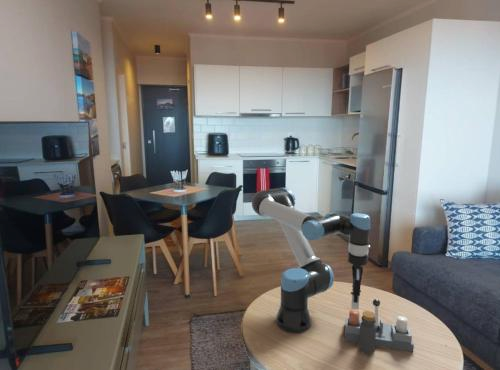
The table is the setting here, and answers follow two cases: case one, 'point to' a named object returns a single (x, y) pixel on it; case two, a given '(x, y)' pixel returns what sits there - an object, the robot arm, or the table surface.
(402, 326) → the button ivory
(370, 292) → the table surface
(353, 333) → the panel
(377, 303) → the lever
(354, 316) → the button terracotta
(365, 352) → the bottle
